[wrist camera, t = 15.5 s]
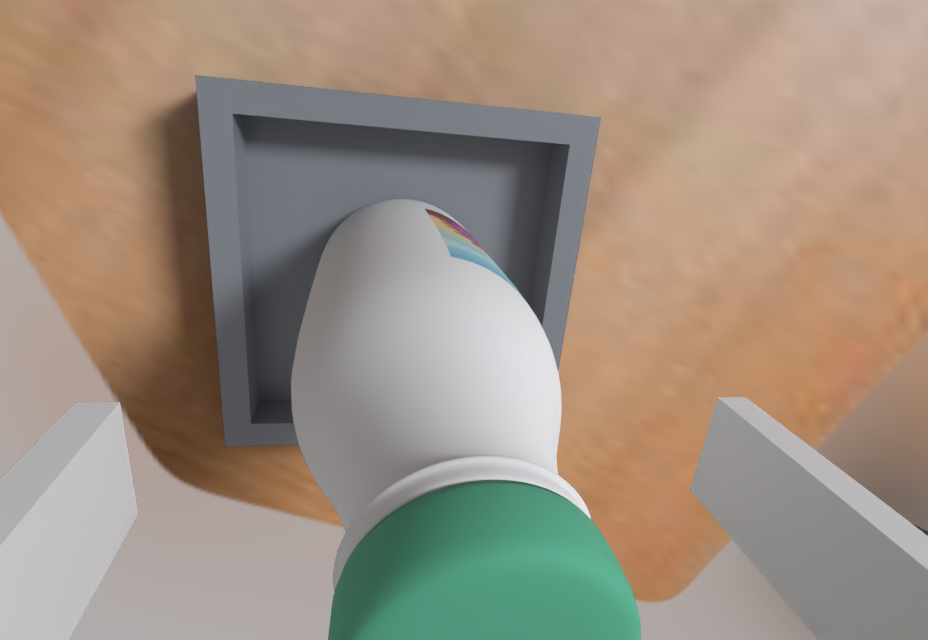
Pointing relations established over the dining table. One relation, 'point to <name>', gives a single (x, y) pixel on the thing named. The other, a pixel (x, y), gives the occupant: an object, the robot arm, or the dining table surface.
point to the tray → (358, 185)
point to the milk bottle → (443, 445)
